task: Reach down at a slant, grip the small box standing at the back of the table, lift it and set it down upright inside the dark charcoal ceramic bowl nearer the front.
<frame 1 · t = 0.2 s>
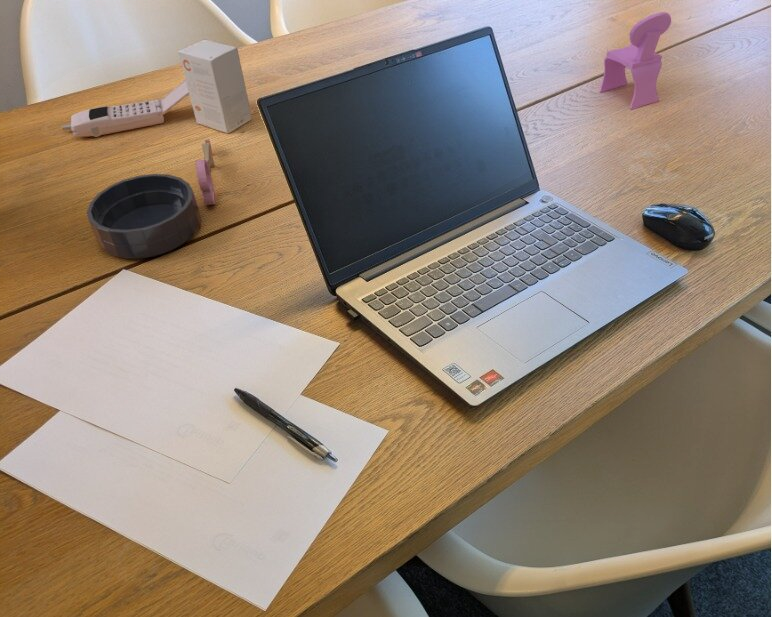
mobile phone: (137, 124, 119), on the table
decorative key: (211, 177, 105), on the table
small box: (224, 122, 118), on the table
bowl: (151, 230, 94), on the table
toy chair: (627, 96, 118), on the table
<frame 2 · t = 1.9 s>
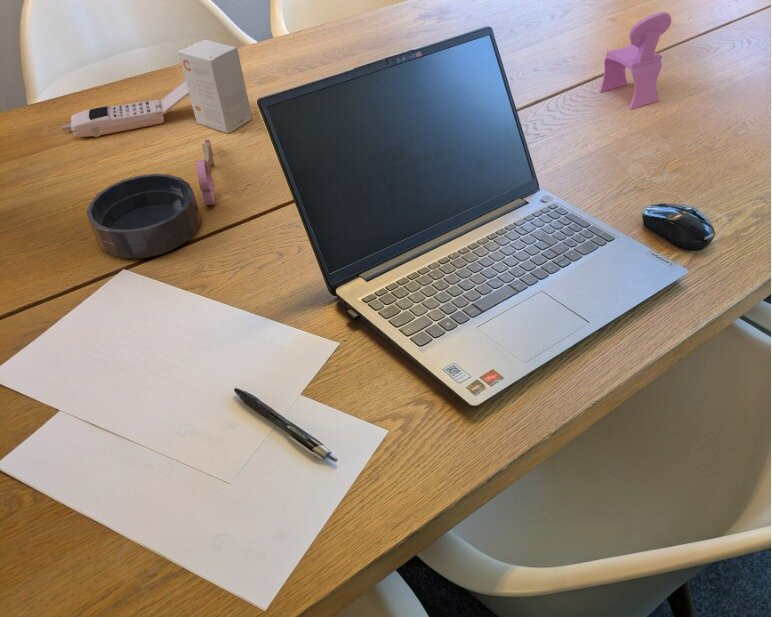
nothing on the table moved.
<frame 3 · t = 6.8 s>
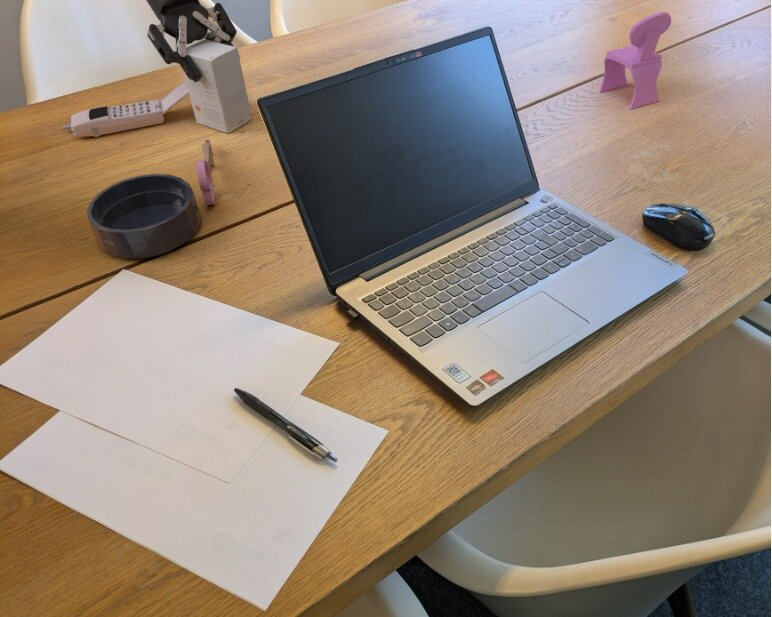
hand: (217, 72, 111), 10 cm above the table, tool tilted 45°, fingers closed on small box, 7 cm apart
small box: (224, 122, 118), on the table, touching gripper
everything else where it was.
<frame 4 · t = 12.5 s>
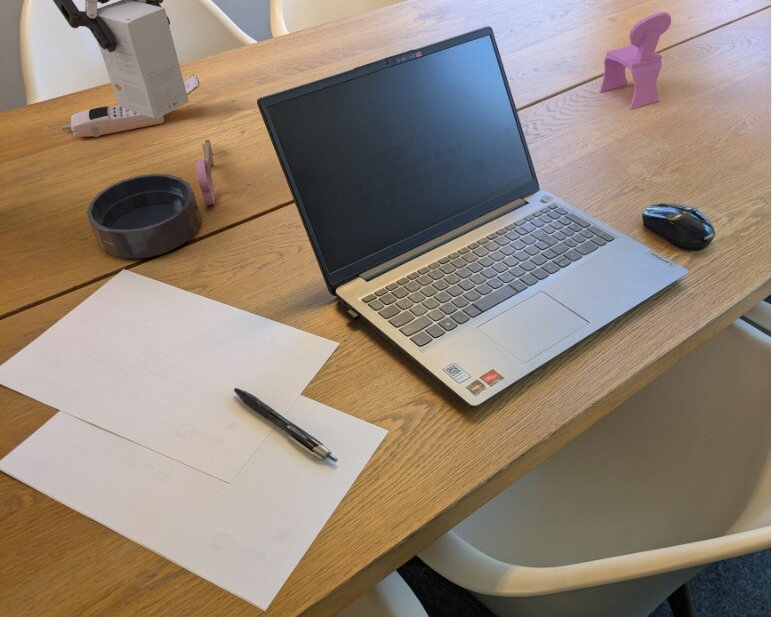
hand: (140, 39, 86), 23 cm above the table, tool tilted 45°, fingers closed on small box, 7 cm apart
small box: (154, 106, 94), point 13 cm above the table, touching gripper
everything else where it was.
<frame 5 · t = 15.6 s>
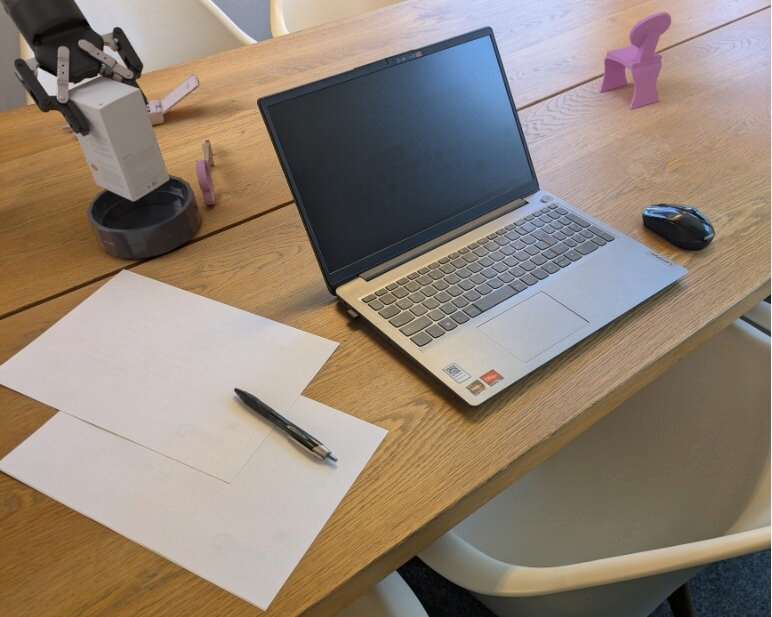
hand: (115, 121, 82), 17 cm above the table, tool tilted 45°, fingers closed on small box, 7 cm apart
small box: (133, 184, 89), point 8 cm above the table, touching gripper
everything else where it was.
when the fingers open (10 cm above the table, at t = 18.3 s): small box stays where it is, resting on bowl.
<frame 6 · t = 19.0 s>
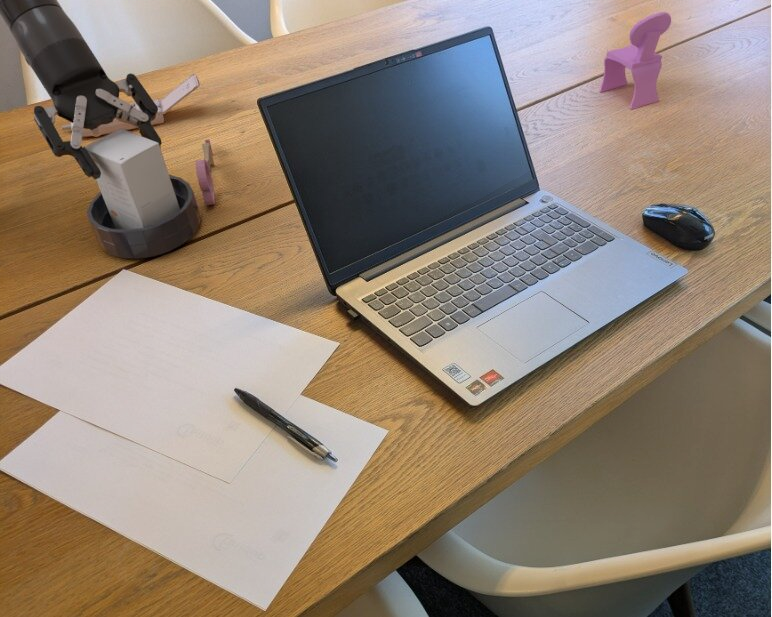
hand: (128, 163, 86), 11 cm above the table, tool tilted 45°, fingers open, 8 cm apart
small box: (150, 227, 94), resting on bowl
everything else where it was.
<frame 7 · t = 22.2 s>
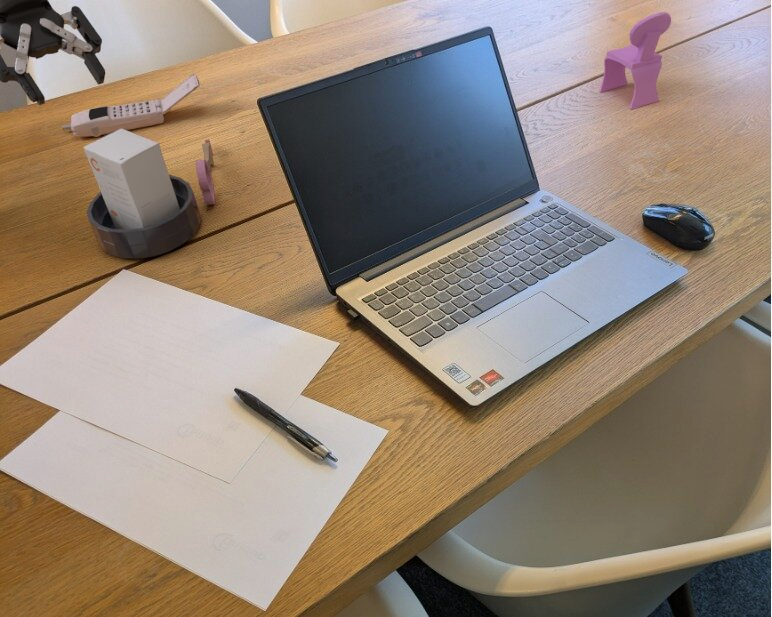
hand: (72, 91, 90), 17 cm above the table, tool tilted 45°, fingers open, 8 cm apart
nothing on the table moved.
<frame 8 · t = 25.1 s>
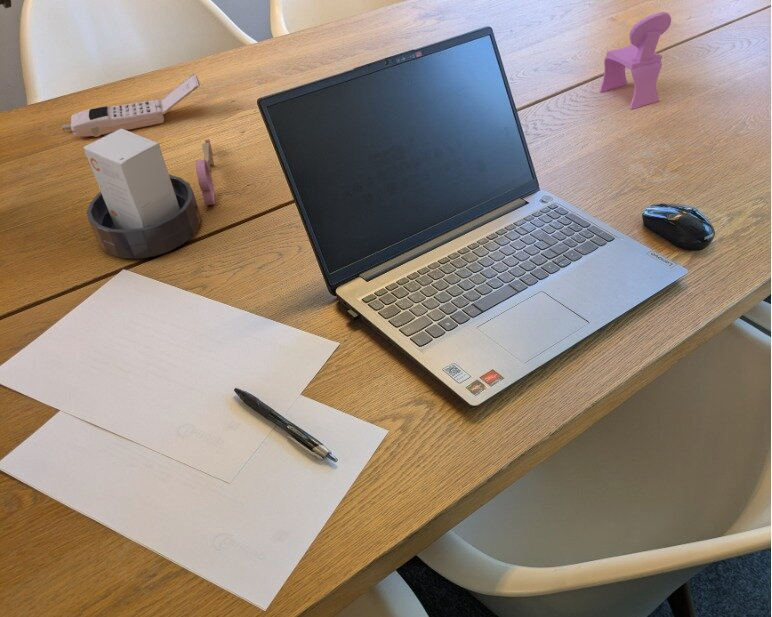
nothing on the table moved.
at the end: small box inside the target area in the bowl (0.1 cm from its centre), point 0.4 cm above the bowl's base; small box tilted 0° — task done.
